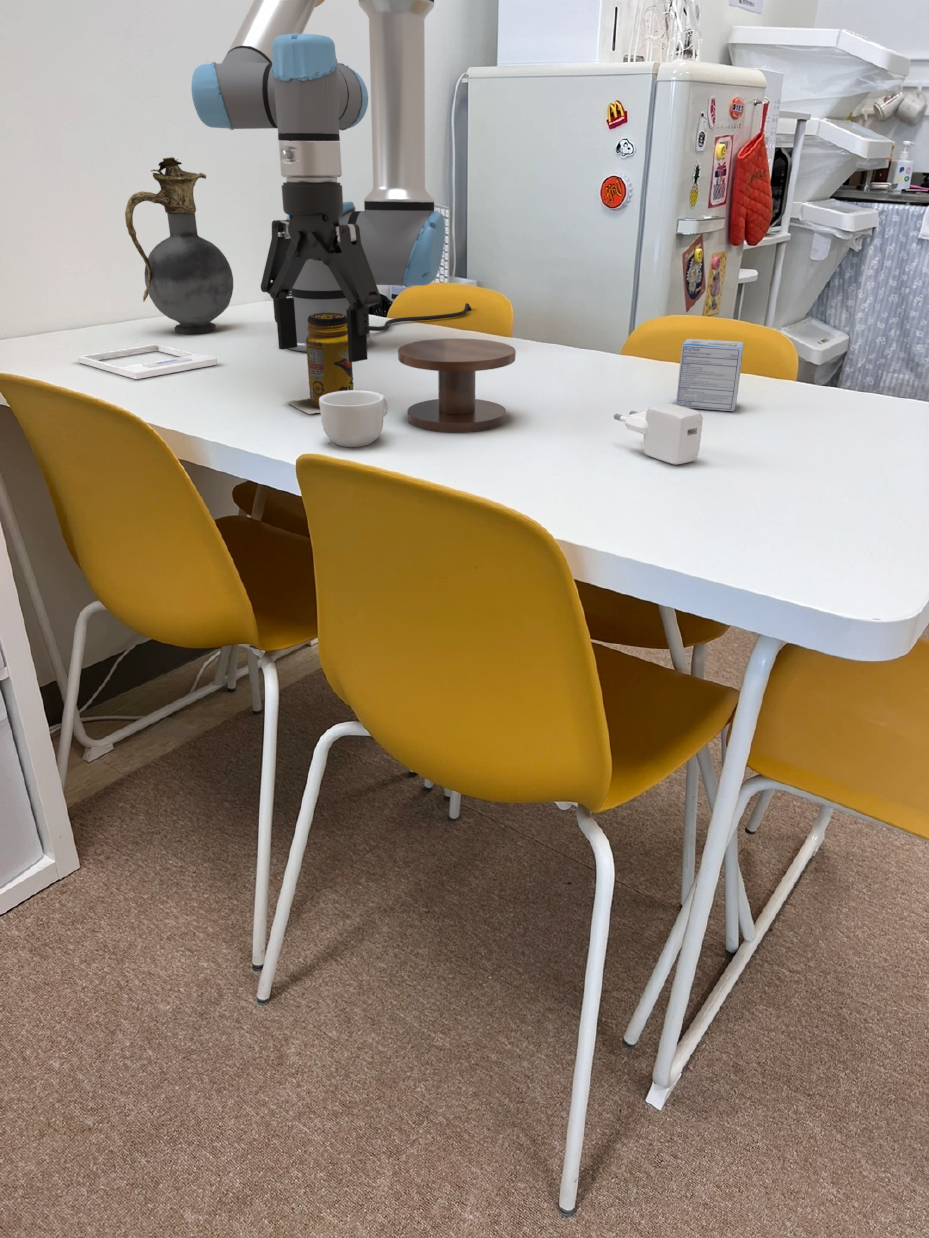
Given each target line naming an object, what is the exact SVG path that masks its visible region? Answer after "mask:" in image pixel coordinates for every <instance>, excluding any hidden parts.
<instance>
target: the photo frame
mask: <svg viewBox="0 0 929 1238" xmlns="http://www.w3.org/2000/svg"><path fill="white" fill-rule="evenodd" d="M155 351H156V352H161V353H164V354H169V355H172V356H176V357H173V358H168V359H167V358H166V359H162V360H156V361H150V362H144V363H138V364H132V365H126V366H118V365H114V364H110V363H107V362H104V361H100V360H106V359H112V358H113V359H114V358H120V357H125V356H131V355H136V354H138V355H139V354H143V353H149V352H155ZM76 357H77V362H78V363H79V364H82V365H86V366H90V367H92V368H96V369H100V370H103V371H107V372H110V373H113V374H117V375H121V376H123V377H127V378H131V379H134V380H140V379H145V378H150V377H157V376H161V375H167V374H172V373H177V372H178V373H179V372H183V371H189V370H195V369H199V368H200V369H201V368H205V367H212V366H216V365H218V359H217V357H211V356H208V355H203V354H200V353H195V352H191V351H188V350H183V349H179V348H175V347H170V346H166V345H162V344H158V343H154V344H148V345H142V346H135V347H129V348H122V349H116V350H110V351H104V352H98V353H91V354H84V355H78V356H77V355H76Z"/></svg>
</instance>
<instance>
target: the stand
mask: <svg viewBox="0 0 929 1238" xmlns="http://www.w3.org/2000/svg"><path fill="white" fill-rule="evenodd" d="M516 351H517V350H516V348H515V347H514V346H512V345H510V344H507V343H505V342H501V341H494V340H489V339H479V338H435V339H425V340H418V341H413V342H409V343H406V344H404V345H401V346H400V347H399V348H398V349H397V360H398V362H399V363H400V364H402V365H405V366H406V367H409V368H410V367H411V368H415V369H419V370H425V371H435V372H437V373H438V377H437V381H438V383H437V385H438V391H437V392H438V398H434V399H428V400H423V401H420V402H416V403H414V404H412V405H410V406H409V407H408V408H407V412H406V413H407V421H408V423H409V424H410V425H412V426H414V427H416V428H419V429H421V430H426V431H431V432H432V431H433V432H439V433H456V434H457V433H476V432H483V431H488V430H492V429H495V428H498V427H500V426H503V425H504V424H505V423H506V421H507V408H506V407H505V406H504V405H501V404H500V403H497V402H495V401H490V400H486V399H485V400H484V399H478V398H476V372H479V371H488V370H495V369H500V368H503V367H504V368H505V367H507V366H509V365H512V364H513V363H515V361H516V355H517V354H516V353H517V352H516Z"/></svg>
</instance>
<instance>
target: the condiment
mask: <svg viewBox="0 0 929 1238" xmlns="http://www.w3.org/2000/svg"><path fill="white" fill-rule="evenodd" d="M307 321H308V331H309V335H308V336H307V338H306V348H307V352H306V361H307V375H308V386H309V387H308V388H309V398H306V399H299V400H298V399H297V400H295V399H293V400H288V401H286V402H287V403H288V404H290V406H292V407H294V408H296V409H297V410H299V411H302V412H304V413H306V414H308V415H312V414H313V415H314V414H321V412H320V406H319V398H320V397H321V396H323V395H325V394H328V393H333V392H338V391H348V390H354V375H353V362H349V355H348V335H347V317H346V316H345V315H344V314H340V313H316V314H312V315H310V316H309V317H308V320H307Z"/></svg>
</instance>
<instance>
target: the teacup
mask: <svg viewBox="0 0 929 1238" xmlns="http://www.w3.org/2000/svg"><path fill="white" fill-rule="evenodd" d="M319 406H320V412H321V413H320V417H321V418H320V419H321V425H322V428H323V431H324V433H325V435H326V437H327V438H328V439H329V440H330V441H331V442H333V443H334V444H335V445H337V446H340V447H344V448H361V447H366V446H369V445H371V444H372V443H374V441H376V440H377V439H378V438H379V436H380V435H381V433H382V431H383V427H384V418H385V416H386V415H387V413H388V410H389V404H388V401H387V399H386V398H385V396H384V394H382V393H380V392H377V391H373V390H372V391H371V390H362V389H361V390H360V389H353V390H348V391H338V392H333V393H328V394H325V395H323V396H321V397H320V398H319Z"/></svg>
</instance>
